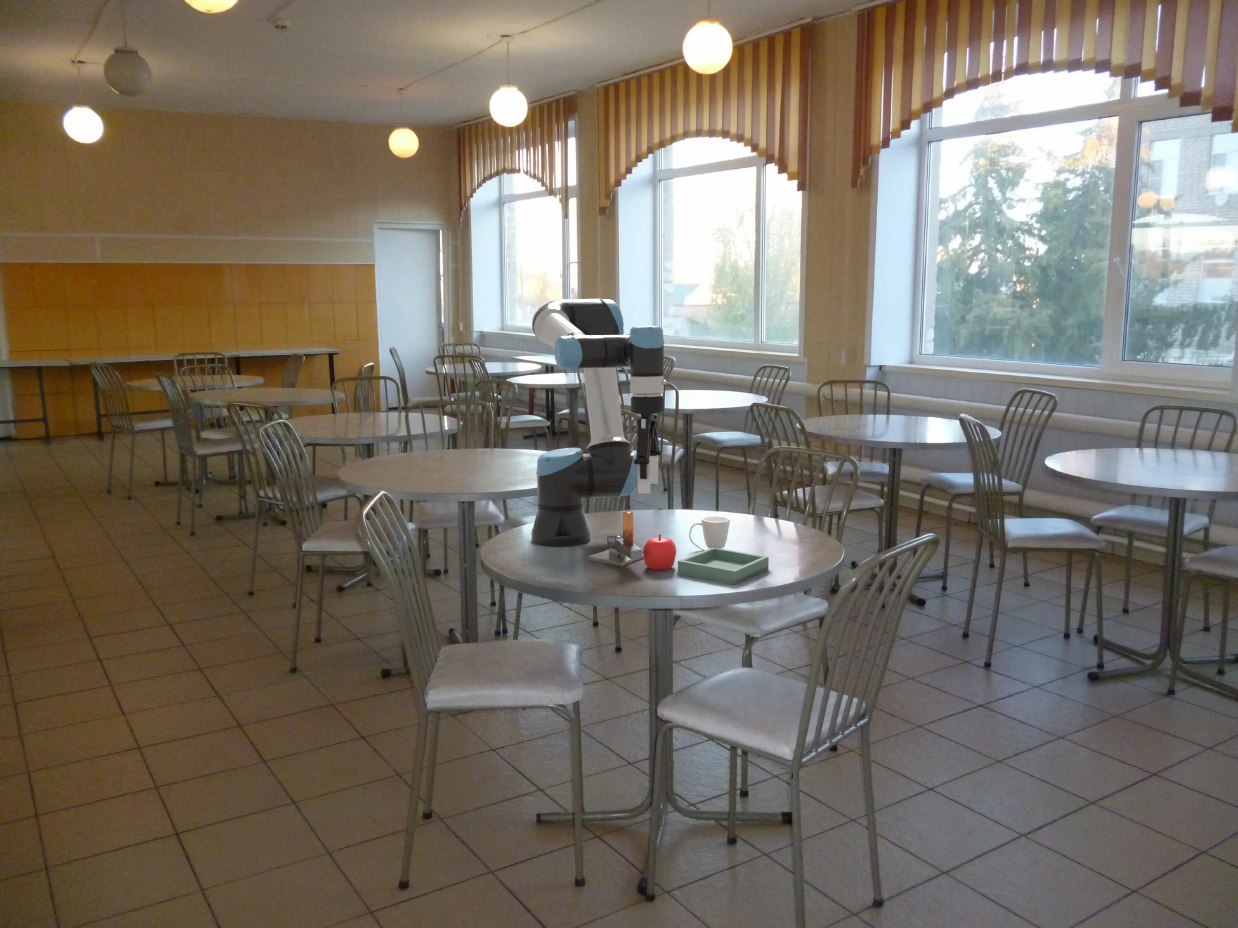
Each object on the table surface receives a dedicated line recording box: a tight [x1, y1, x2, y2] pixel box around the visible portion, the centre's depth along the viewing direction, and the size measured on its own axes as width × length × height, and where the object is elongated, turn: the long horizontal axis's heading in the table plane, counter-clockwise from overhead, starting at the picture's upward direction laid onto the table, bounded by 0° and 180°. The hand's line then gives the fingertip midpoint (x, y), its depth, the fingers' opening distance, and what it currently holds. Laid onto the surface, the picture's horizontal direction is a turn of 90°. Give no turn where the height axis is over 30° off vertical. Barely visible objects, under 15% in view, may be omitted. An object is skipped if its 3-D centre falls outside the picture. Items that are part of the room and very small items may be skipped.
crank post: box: [587, 546, 644, 567], centre depth 241 cm, size 10×10×3 cm
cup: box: [688, 515, 731, 551], centre depth 247 cm, size 7×10×8 cm
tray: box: [677, 547, 770, 586], centre depth 229 cm, size 15×15×3 cm
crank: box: [606, 510, 644, 559], centre depth 234 cm, size 16×5×10 cm, turn 18°
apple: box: [642, 534, 677, 572], centre depth 232 cm, size 8×8×8 cm
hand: (648, 488), depth 228 cm, fingers open, 13 cm apart
